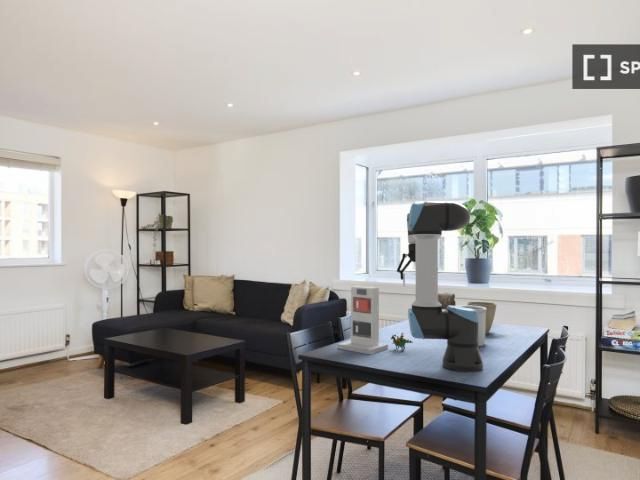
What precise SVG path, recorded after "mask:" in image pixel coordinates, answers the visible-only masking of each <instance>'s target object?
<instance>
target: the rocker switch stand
mask: <svg viewBox="0 0 640 480" xmlns="http://www.w3.org/2000/svg"><path fill="white" fill-rule="evenodd" d="M355 299H364V300H369V312H366V311H360V310H355ZM379 317H380V287H378V286H377V287H376V286H363V285H362V286H361V285H353V286H350V340H347V341H344V342H339V343H337V349H340V350H345V351H349V352H355V353H361V354H366V355H374V354H376V353H380V352H383V351H386V350H388V349H389V344H385V343H381V342H380V340H379V339H380V335H379V334H380V333H379V331H380V330H379V329H380V327H379V325H380V323H379V322H380V318H379ZM353 323H363V324H371V335H370V336H367V335H357V334H353Z"/></svg>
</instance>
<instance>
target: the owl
mask: <svg viewBox="0 0 640 480" xmlns="http://www.w3.org/2000/svg"><path fill="white" fill-rule="evenodd" d="M455 295H456V294H455V293H448V292H442V293H439V292H438V301H439V302H440V303H441V305H442V309H447V306H449V305H451V306H456V300H455V298H456V296H455Z"/></svg>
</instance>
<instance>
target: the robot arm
mask: <svg viewBox="0 0 640 480" xmlns="http://www.w3.org/2000/svg"><path fill="white" fill-rule="evenodd" d="M470 220H471V215H470V211H469V209H468V208H467V207H466V206H465V205H463V204H461V203H459V202H456V201H429V200H428V201H415V202H413V203H412V204H411V206H410V209H409V213H407V214H406V224H407V225H406V226H407V244H408V246H407V248H408V249H407V250H408V253H405V252H404V253H402V255H401V256H402V258H401V260H400V262H399V264H398V266H397V269H396V272H397V273H399V274H400V280H402V286H403V287H406V276H405V274H406V273H404V272H405V271H406V269H407V268H408V267H409V266H410V264H412V263H415V300H414V301H412V303H411V308H408V309H407V317H408V326H409V331H410V334H411V337H413V338H414V339H420V340H446V349H445V351H444V354H443V358H442V367H444V368H445V369H448V370H451V371H458V372H465V373H466V372H468V373H469V372H473V373H474V372H479V371H483V369H484V361H483V358H482V355H481V353H480V349H479V346H478V323H479V321H478V313H477V312H476V311H475V310H473V309H470V308H466V307H460V306H458V305H455V306H451V305H449V306H447V309H442V305H441V303H440V302H439V301H438V293H439V288H438V286H439V273H438V272H439V268H438V267H439V261H438V258H439V256H438V253H439V251H438V249H439V247H438V245H439V239H440V238H441V237H442V235H443V233H442V232H449V231H450V232H451V231H458V230H461V229H463V228H465V227H467V225H468V224H469V222H470ZM407 257H408V258H409V260H408V261H407V262H406V263H405V265H404V266H403V264H404V262H405V260H406V258H407ZM402 266H403V267H402Z"/></svg>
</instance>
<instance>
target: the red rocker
mask: <svg viewBox="0 0 640 480" xmlns="http://www.w3.org/2000/svg"><path fill="white" fill-rule="evenodd" d="M355 310H360V311H366V312H369V300H364V299H355Z"/></svg>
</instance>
